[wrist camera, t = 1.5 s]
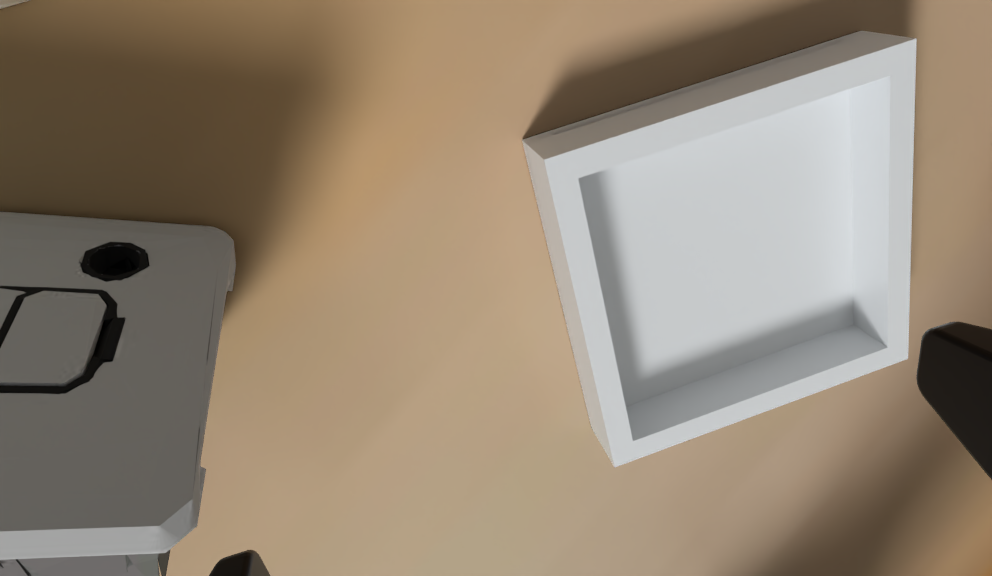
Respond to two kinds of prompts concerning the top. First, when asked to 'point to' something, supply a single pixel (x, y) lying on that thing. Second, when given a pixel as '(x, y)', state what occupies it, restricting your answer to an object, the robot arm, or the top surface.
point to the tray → (734, 239)
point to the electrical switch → (104, 389)
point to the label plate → (10, 3)
